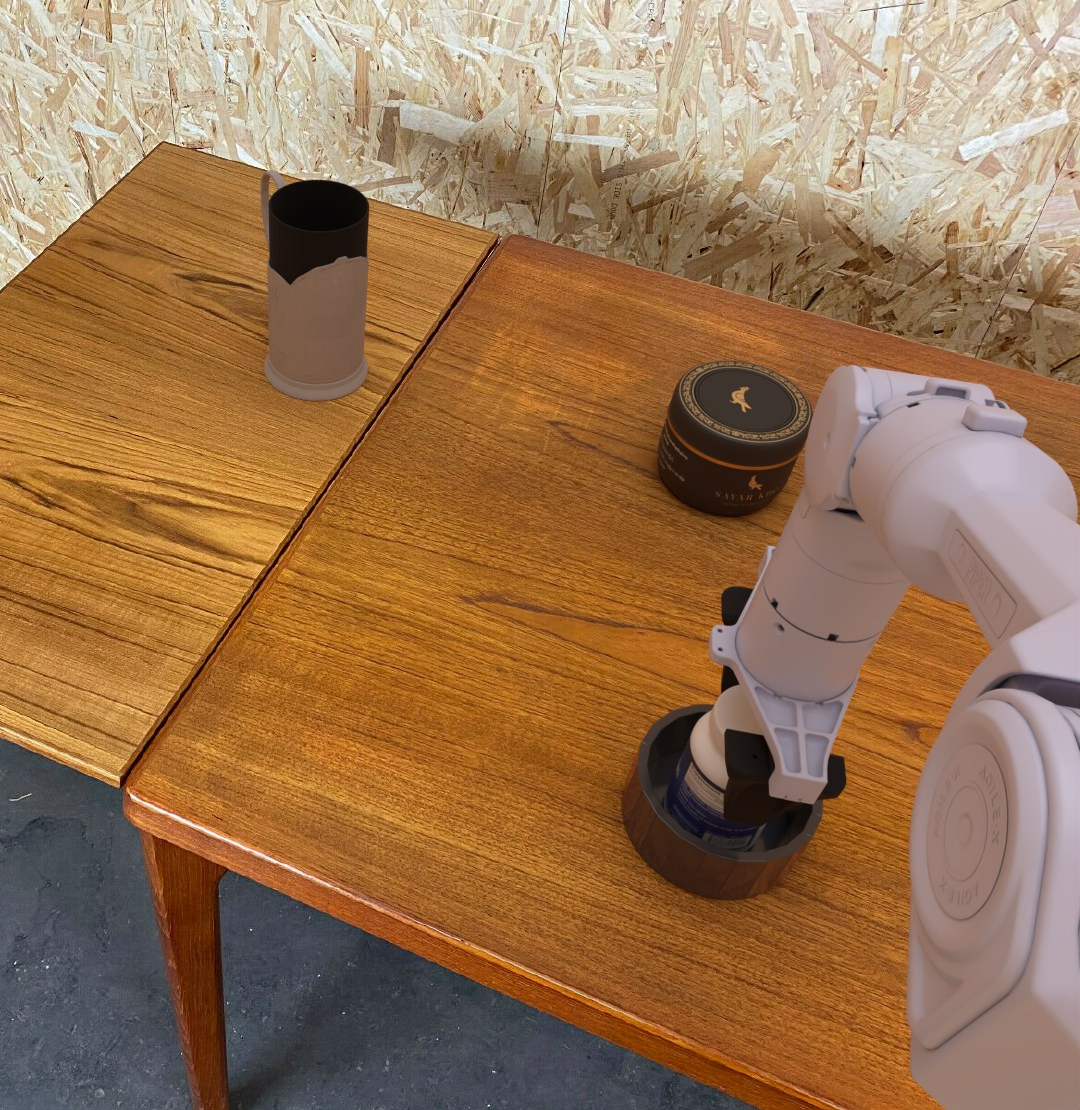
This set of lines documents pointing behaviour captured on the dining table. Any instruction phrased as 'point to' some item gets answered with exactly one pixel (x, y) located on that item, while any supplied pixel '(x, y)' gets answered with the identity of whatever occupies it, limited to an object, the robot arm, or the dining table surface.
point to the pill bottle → (711, 776)
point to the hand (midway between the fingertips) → (741, 756)
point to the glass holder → (315, 287)
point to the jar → (732, 436)
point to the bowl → (686, 853)
